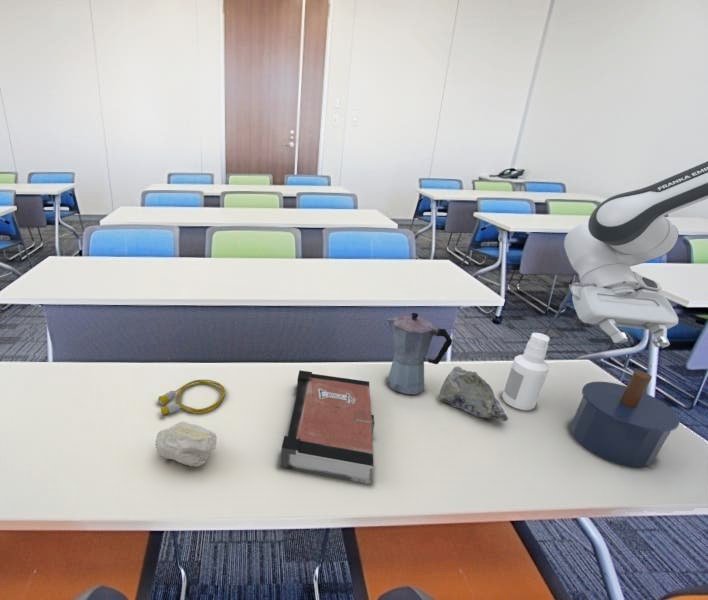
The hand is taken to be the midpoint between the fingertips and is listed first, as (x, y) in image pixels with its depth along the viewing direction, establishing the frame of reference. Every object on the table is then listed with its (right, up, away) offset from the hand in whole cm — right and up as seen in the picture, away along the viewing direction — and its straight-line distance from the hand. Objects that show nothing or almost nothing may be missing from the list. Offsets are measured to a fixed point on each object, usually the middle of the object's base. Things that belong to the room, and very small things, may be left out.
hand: (642, 344), depth 79 cm
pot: (-2, -21, +5) cm, 22 cm away
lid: (-2, -13, +1) cm, 13 cm away
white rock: (-90, -22, 0) cm, 93 cm away
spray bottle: (-13, -16, +17) cm, 27 cm away
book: (-60, -19, +8) cm, 64 cm away
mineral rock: (-27, -17, +14) cm, 35 cm away
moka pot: (-38, -13, +22) cm, 46 cm away
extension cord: (-92, -15, +16) cm, 94 cm away
